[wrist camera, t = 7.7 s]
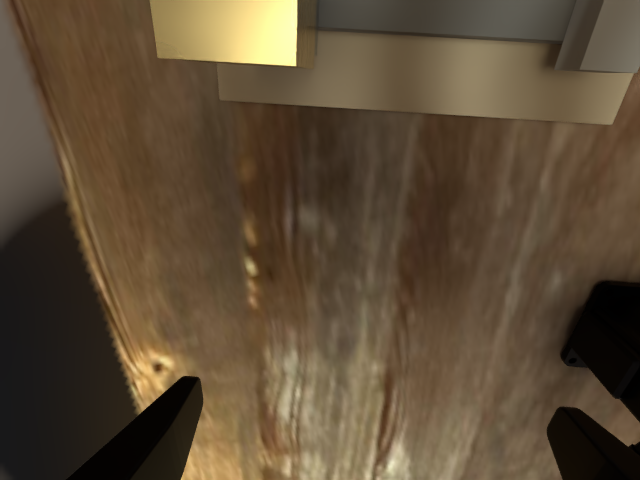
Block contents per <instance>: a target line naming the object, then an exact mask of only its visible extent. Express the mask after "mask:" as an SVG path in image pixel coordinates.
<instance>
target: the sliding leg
mask: <svg viewBox="0 0 640 480" xmlns="http://www.w3.org/2000/svg"><path fill="white" fill-rule="evenodd" d="M319 1H320V0H150V5H151V12H152V19H153V26H154V33H155V41H156V48H157V55H158V58H166V59H177V60H188V61H199V62H211V63H222V64H234V65H251V66H268V67H284V68H301V69H314V56H317V46H318V24H319Z"/></svg>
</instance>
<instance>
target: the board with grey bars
mask: <svg viewBox="0 0 640 480" xmlns="http://www.w3.org/2000/svg"><path fill="white" fill-rule="evenodd" d="M639 67H640V0H320V1H319V24H318V46H317V56H314V69H301V68H284V67H268V66H251V65H234V64H222V63H217V73H218V87H219V100H223V101H239V102H255V103H271V104H287V105H303V106H319V107H335V108H351V109H367V110H383V111H399V112H415V113H431V114H447V115H463V116H479V117H495V118H511V119H527V120H543V121H559V122H575V123H591V124H607V125H612V124H613V122H614V119H615V117H616V114H617V112H618V110H619V107H620V105H621V103H622V100H623V98H624V95H625V93H626V91H627V88H628V86H629V84H630V81H631V79H632V76H633V74H634V73H637V71H638V69H639Z"/></svg>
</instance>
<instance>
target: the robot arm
mask: <svg viewBox="0 0 640 480" xmlns="http://www.w3.org/2000/svg"><path fill="white" fill-rule="evenodd" d="M607 289H608V290H607ZM606 290H607V291H606ZM561 359H562V361H563V362H564V363H565V364H566V365H567V366H573V367H586V368H589V369H590V370H591V371H592V373H593V374H594V375H595V376H596V377H597V378H598V380H599V381H600V382H601V383H602V384H603V386H604V387H605V388H606V389H607V390H608V391H609V393H610V394H611V395H612V396H613V397H614V398H615V399H620V400H621V401H622V402H623V404H624V405H625V406H626V407H627V408H628V409H629V411H630V412H631V413H632V414H633V415H634V416H635V418H636V419H637V420H638V421H639V422H640V284H637V283H623V282H609V281H606V282H602V283H600V284H599V285H597V287H596V288H595V290H594V292H593V294H592V296H591V298H590V300H589V302H588V304H587V306H586V308H585V310H584V312H583V314H582V316H581V318H580V320H579V322H578V324H577V326H576V328H575V330H574V332H573V334H572V336H571V338H570V340H569V342H568V344H567V346H566V348H565V350H564V352H563V354H562V356H561ZM202 407H203V393H202V387H201V381H200V378H199V377H193V376H183V377H181V378H180V379H179V380H178V381H177V382H176V383H174V384H173V385H172V386H171V387H170V388H169V389H168V390H166V391H165V392H164V393H163V394H162V395H161V396H160V397H159V398H157V399H156V400H155V401H154V402H153V403H152V404H151V405H150V406H148V407H147V408H146V409H145V410H144V411H143V412H142V413H140V414H139V415H138V416H137V417H136V418H135V419H134V420H133V421H131V422H130V423H129V424H128V425H127V426H126V427H125V428H124V429H122V430H121V431H120V432H119V433H118V434H117V435H116V436H114V438H112V439H111V440H110V441H109V442H108V443H107V444H105V445H104V446H103V447H102V448H101V449H100V450H99V451H97V452H96V453H95V454H94V455H93V456H92V457H91V458H90V459H89V460H87V461H86V462H85V463H84V464H83V465H82V466H81V467H79V468H78V469H77V470H76V471H75V472H74V473H73V474H71V475H70V476H69V477H68V478H67V479H66V480H181V477H182V475H183V472H184V468H185V465H186V462H187V459H188V455H189V452H190V448H191V445H192V441H193V438H194V435H195V431H196V428H197V424H198V421H199V417H200V414H201V411H202ZM547 437H548V440H549V443H550V445H551V448H552V451H553V454H554V457H555V460H556V462H557V465H558V468H559V471H560V474H561V476H562V479H563V480H640V442H638V443H637V444H636V445H633V444H631V445H630V446H629V447H628V446H626V445H625V444H624V443H623V442H621V441H620V440H619V439H617V438H616V437H615V436H614V435H612V434H611V433H610V432H608V431H607V430H606V429H605V428H603V427H602V426H601V425H600V424H598V423H597V422H596V421H594V420H593V419H592V418H591V417H589V416H588V415H587V414H585V413H584V412H583V411H581V410H580V409H578V408H574V407H559V408H558V409H557V410H556V412H555V413H554V415H553V417H552V419H551V421H550V423H549V424H548V426H547Z"/></svg>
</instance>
